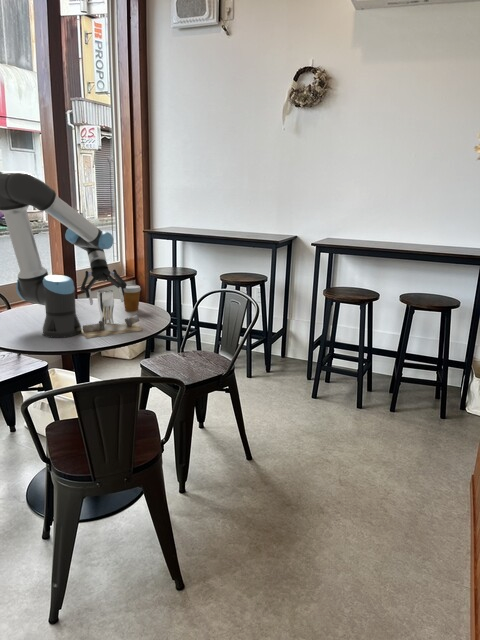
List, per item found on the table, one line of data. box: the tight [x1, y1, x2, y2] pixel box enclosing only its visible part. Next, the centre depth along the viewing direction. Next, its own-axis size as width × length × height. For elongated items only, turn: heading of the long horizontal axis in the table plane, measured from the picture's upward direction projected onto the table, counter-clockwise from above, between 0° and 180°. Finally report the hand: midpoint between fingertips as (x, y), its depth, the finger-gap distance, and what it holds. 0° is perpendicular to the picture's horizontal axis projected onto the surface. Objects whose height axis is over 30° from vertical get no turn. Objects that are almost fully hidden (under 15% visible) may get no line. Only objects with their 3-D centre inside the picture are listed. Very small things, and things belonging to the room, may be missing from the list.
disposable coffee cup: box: [123, 284, 142, 313], centre depth 236 cm, size 10×10×12 cm
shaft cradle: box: [80, 314, 144, 339], centre depth 204 cm, size 24×10×6 cm, turn 122°
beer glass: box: [97, 289, 115, 326], centre depth 212 cm, size 7×7×15 cm
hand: (107, 302), depth 213 cm, fingers open, 13 cm apart
